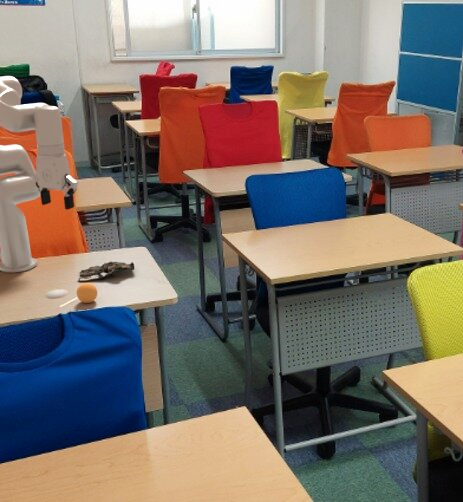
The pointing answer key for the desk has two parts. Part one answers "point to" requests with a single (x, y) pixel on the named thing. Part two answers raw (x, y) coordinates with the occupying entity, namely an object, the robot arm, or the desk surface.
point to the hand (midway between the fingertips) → (57, 206)
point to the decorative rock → (104, 270)
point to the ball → (86, 292)
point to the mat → (58, 295)
